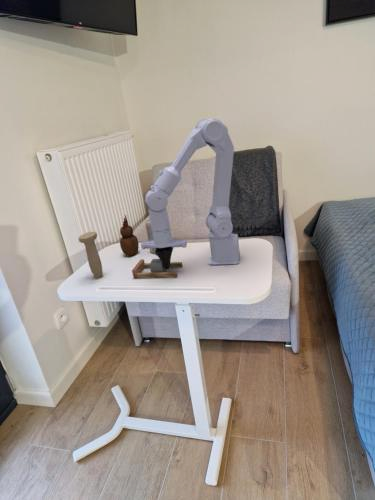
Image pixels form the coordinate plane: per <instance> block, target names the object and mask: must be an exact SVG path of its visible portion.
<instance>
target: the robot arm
mask: <svg viewBox="0 0 375 500" xmlns="http://www.w3.org/2000/svg"><path fill="white" fill-rule="evenodd" d="M207 146H208V147H210V149H212V151H214V153H215V163H214V175H213V186H212V187H213V188H212V200H211V205H210V207H209V209H208V210H209V211H208V215H207V216H206V218H205V225H206V227H207V228H208V229H209V233H208V240H209V247H210V259H209V262H208V265H209V266H212V265H213V266H217V265H221V266H222V265H238V264H239V261H240V255H241V250H240V243H239V235H238V233H232V232H233V230H234V228H233V227H234V225H233V222H232V213H231V210H230V206H229V205H230V196H231V195H230V194H231V185H232V184H231V183H232V175H233V164H234V153H235V146H234V144H233V141H232V139H231V136H230V135H229V130H228V127H227V125H225V124H224V123H223V122H222V121H221V120H220V119H218V118H210V119H206V118H204V119H201V120H200V121H198V122H197V123H196V125H195V128H193V129H192V130H191V131H190V133H189V135H188V136H187V138H186V140H185V141H184V143H183V145H182V146H181V148H180V149H179V151H178V153H177V155H176V156H175V158H174V160H173V162H172V163H171V165H170V166H166V167H164V168H163V170H162V169H160V170H159V172H158V175H159V176H158V178H157V180H155V183H154V184H151V186H150V189H151V190H148V191H147V192H146V194H145V199H144V202H145V203H146V205H147V206H148V208H147V209H148V211H147V212H148V214H149V215H148V218H149V220H150V224H151V229H152V234H153V241H149V240H148V241H141V243H140V248H141V250H144V251H145V250H146V249H150V248H156V251H155V253H154V254H155V255H156V256H157V257H158V259H160V260H161V261H162V263H163V265H164V267H165V270H166V271H168V270H169V269H171V268H170V262H171V259H172V253H173V251H174V249H175V248H182V249H185V248H187V244H188V242H187V239H179V238H173V237H172V231H171V230H172V229H171V227H170V226H171V225H170V220H169V219H170V218H169V214H168V211H167V206H168V201H169V200H168V198H170V196H171V195H172V194H173V192H174V190H175V189H176V187H177V186H178V185H179V183H180V181H181V179H182V176H181V173H182V171H183V169H184V168H185V166H186V165H187V164H188V163H189V161H190V159H191V158H192V157H193V155H195V152H196V151H197V150H200V149H202V148H204V147H207Z"/></svg>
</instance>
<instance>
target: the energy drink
mask: <svg viewBox="0 0 375 500" xmlns="http://www.w3.org/2000/svg"><path fill="white" fill-rule="evenodd" d="M145 230H146V234H147V235H146V236H147V240H148V241H153V234H152V229H151V224H150V219H148V220H146V221H145ZM149 249H150V253H151V254H155V251H156V248H149Z"/></svg>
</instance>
